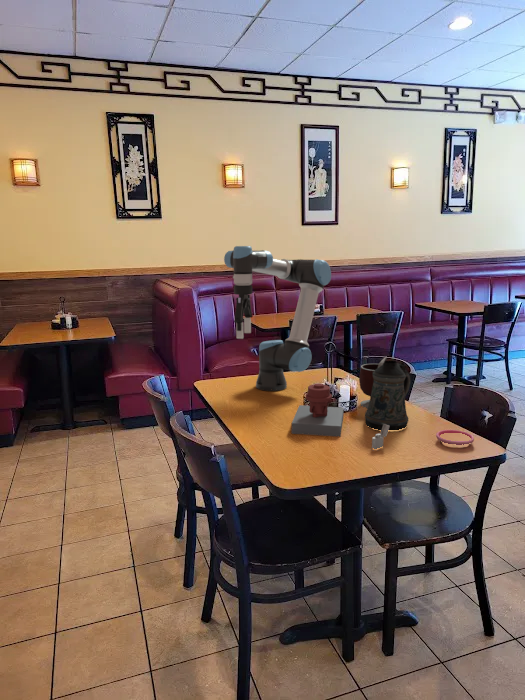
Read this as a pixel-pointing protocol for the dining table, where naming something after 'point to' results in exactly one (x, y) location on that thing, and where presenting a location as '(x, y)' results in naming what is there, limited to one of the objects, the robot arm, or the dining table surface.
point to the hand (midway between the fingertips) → (243, 335)
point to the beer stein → (388, 397)
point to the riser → (318, 422)
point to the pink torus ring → (454, 441)
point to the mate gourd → (368, 379)
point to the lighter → (380, 437)
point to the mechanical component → (318, 399)
